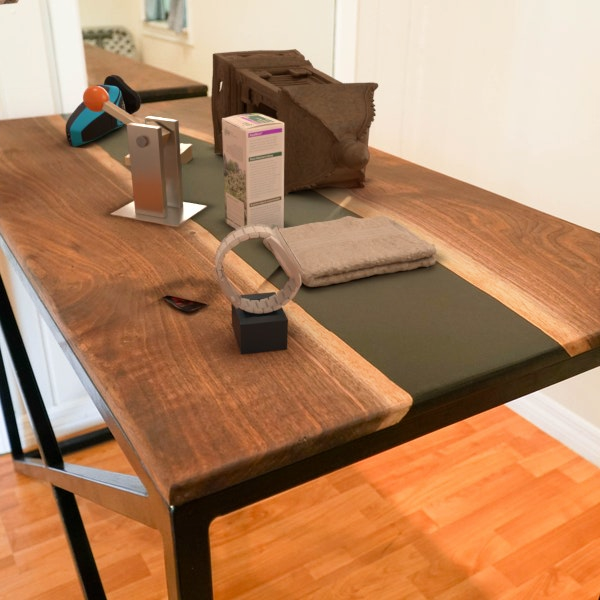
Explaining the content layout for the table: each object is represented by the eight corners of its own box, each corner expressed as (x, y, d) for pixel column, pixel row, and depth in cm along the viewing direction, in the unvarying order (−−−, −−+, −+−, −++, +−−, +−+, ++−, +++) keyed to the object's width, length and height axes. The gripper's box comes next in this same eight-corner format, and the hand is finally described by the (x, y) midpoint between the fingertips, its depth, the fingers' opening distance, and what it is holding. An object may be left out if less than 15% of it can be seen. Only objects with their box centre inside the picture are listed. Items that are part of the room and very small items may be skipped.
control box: (148, 154, 114) (146, 131, 112) (193, 157, 113) (191, 134, 111) (125, 171, 105) (123, 146, 103) (173, 175, 104) (172, 150, 102)
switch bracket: (111, 222, 86) (99, 124, 80) (144, 203, 93) (136, 111, 87) (177, 234, 83) (171, 134, 77) (207, 214, 90) (203, 119, 84)
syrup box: (285, 234, 84) (287, 120, 77) (245, 244, 81) (244, 126, 74) (261, 220, 88) (261, 111, 81) (223, 229, 85) (220, 116, 78)
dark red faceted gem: (192, 315, 65) (192, 311, 65) (153, 302, 67) (152, 297, 67) (220, 297, 69) (220, 293, 69) (182, 284, 71) (182, 281, 71)
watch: (307, 346, 61) (312, 237, 56) (221, 356, 59) (217, 244, 54) (293, 317, 66) (296, 214, 61) (213, 325, 64) (209, 219, 59)
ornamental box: (400, 224, 96) (431, 94, 88) (293, 227, 87) (317, 84, 79) (292, 154, 122) (308, 50, 114) (202, 151, 114) (213, 39, 106)
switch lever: (75, 105, 83) (80, 83, 81) (90, 101, 86) (96, 78, 84) (152, 156, 82) (160, 134, 80) (165, 149, 85) (173, 128, 83)
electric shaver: (103, 114, 137) (149, 118, 136) (43, 159, 116) (96, 164, 115) (97, 71, 132) (145, 75, 131) (33, 111, 112) (88, 116, 110)
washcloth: (441, 266, 77) (445, 242, 76) (305, 294, 70) (306, 268, 69) (386, 230, 87) (389, 208, 85) (261, 251, 79) (261, 228, 78)
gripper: (-141, -122, 69) (-49, -15, 70) (5, -109, 86) (76, -23, 87) (-157, -74, 73) (-70, 27, 74) (-15, -70, 89) (55, 12, 91)
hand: (10, 0), depth 81 cm, fingers closed
